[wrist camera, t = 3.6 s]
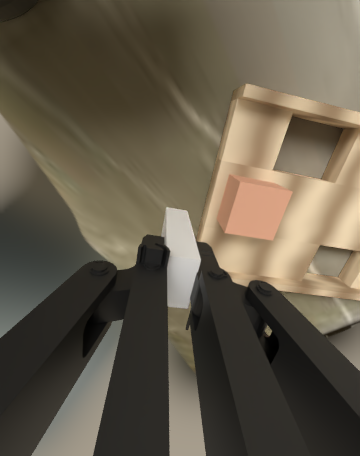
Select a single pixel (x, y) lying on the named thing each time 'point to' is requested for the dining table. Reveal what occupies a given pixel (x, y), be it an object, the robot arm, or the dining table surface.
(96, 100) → the dining table surface
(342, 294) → the box
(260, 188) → the block
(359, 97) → the dining table surface
